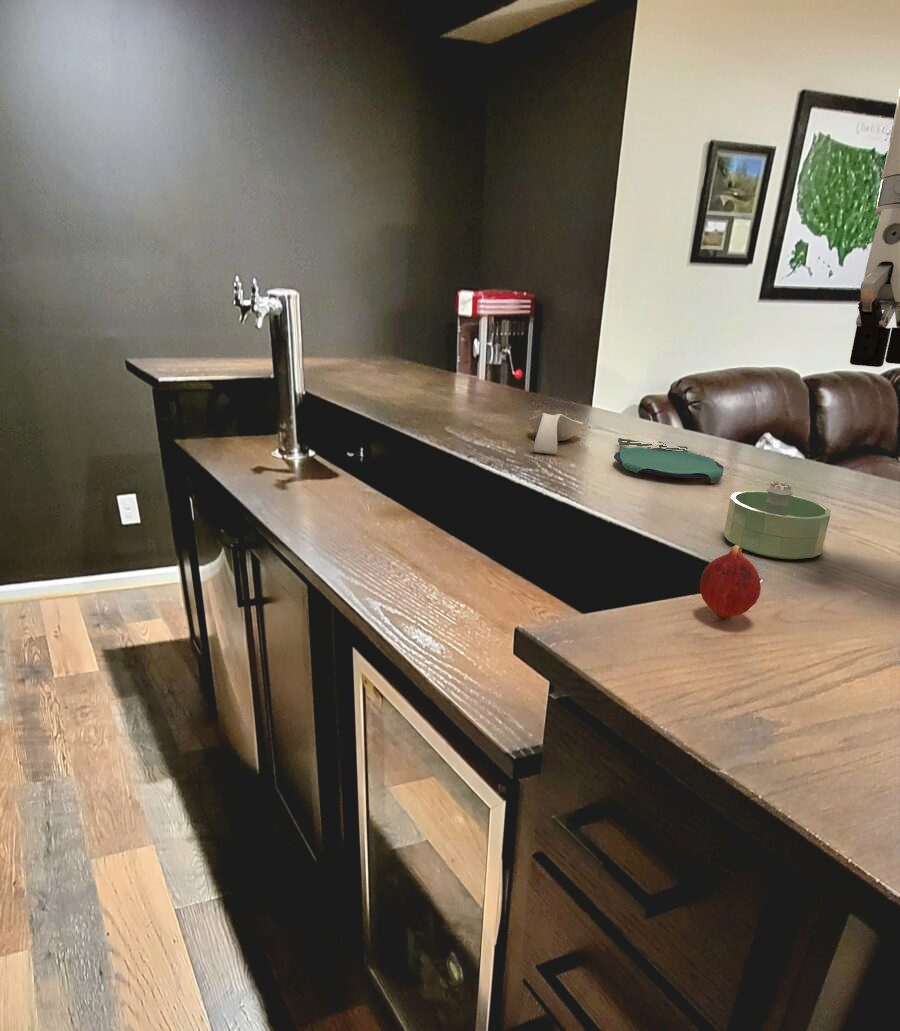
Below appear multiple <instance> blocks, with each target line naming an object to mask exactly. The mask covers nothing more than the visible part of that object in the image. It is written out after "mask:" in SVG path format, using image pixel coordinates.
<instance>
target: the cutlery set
mask: <svg viewBox="0 0 900 1031" xmlns="http://www.w3.org/2000/svg"><path fill="white" fill-rule="evenodd" d="M622 441H627V442H622ZM630 442H640V441H639V440H632V439H629V438H623V437H618V438H617V443H618V445H619V449H618V451H617V452H615V453H614V454H613V459H614V460H615V461H616V462H617V463H618V464H621V465H622V466H623V468H624V469H625V470H627V471H631V472H633V473H636V474H637V473H639V472H641V473H642V472H643V473H647V474H651V475H656V476H663V477H671V478H683V479H685V478H686V479H698V478H699V479H700V478H707V477H708V478H710V479H711V484H712V485H713V484H714V483H716V482H718V481H719V480H720V479H721V478H722V477H723V475H724V470H725V468H724V465H722V464H721V463H719V462H718V461H716V460H715V459H714V458H712V457H709V456H706V455H702V454H698V453H694V452H691V451H687V450H685V449H679V448H666V449H672V450H683V451H672V450H666V449H662V448H661V447H667V446H663V445H658V447H659V448H651V447H642V446H653V445H652V444H641V443H630ZM658 443H663V442H662V441H658ZM664 443H665V442H664ZM664 443H663V444H664ZM666 444H667V443H666ZM666 444H665V445H666ZM629 445H637V446H633V447H625V446H629ZM677 446H678V447H680V448H686V449H689V448H688V446H682V445H677Z"/></svg>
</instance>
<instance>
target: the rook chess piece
mask: <svg viewBox="0 0 900 1031" xmlns="http://www.w3.org/2000/svg"><path fill="white" fill-rule="evenodd" d="M780 483H781V484H779V482H778V481H774V482H773V481H771V482H770V485H769V487H768V488H767V487H766V491H768V493H769V498H768V499H767V500H766V501H767V507H766V510H765V512H767V513H773V514H778V515H784V516H786V508H787V505H789V503H788V498H789V497H790V496H791V495H794V492H793V490H792V484H790V483H787V484H786V482H780Z"/></svg>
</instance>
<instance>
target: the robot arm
mask: <svg viewBox="0 0 900 1031" xmlns="http://www.w3.org/2000/svg"><path fill="white" fill-rule="evenodd" d="M893 117H894V118H893V123H892V127H891V132H890V137H889V143H888V147H887V152H886V156H885V157H886V158H885V162H884V167H883V172H882V178H881V182H880V187H879V192H878V197H877V202H876V208H875V212H874V213H875V215H878V216H879V218H878V221H877V224H876V228H875V231H874V235H873V239H872V243H871V246H870V250H869V254H868V259H867V263H866V266H865V271H864V277H863V281H861V283H860V301H859V302H858V304H857V306H858V307H857V309H858V315H857V317H856V321H855V326H856V328H855V331H854V332H855V333H854V338H853V343H852V347H851V353H850V357H849V364H850V365H852V366H859V367H860V366H861V367H871V368H881V367H883V365H884V363H886V364H895V365H900V90H899V92H898V96H897V102H896V105H895V112H894V116H893ZM894 315H895V323H896V324H895V325H896V327H895V326H893V327H888V325H889V323H890V321H891V319H892V318H893V317H894Z"/></svg>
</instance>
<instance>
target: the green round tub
mask: <svg viewBox="0 0 900 1031" xmlns="http://www.w3.org/2000/svg"><path fill="white" fill-rule="evenodd" d="M768 498H769V493H768V491H767V490H740V491H737V492H733V493H732V494H731V496H730V498H729V503H728V510H727V513H726V520H725V524H724V529H723V536H724V537H725V538H726V540H727V541H728V542H730V543H731V544H734V546H735V545H737V546H739V547H740V548H741V549H742V550H744V551H747V552H748V553H752V554H755V555H759V556H761V557H766V558H771V559H777V560H778V559H780V560H803V559H808V558H809V559H810V558H815V557H817V556H820V555H822V553H823V549H824V543H825V539H826V536H827V532H828V527H829V523H830V518H831V509H830V508H828V507H827V506H825V505H824V504H822V503H819V502H817V501H814V500H813V499H809V498H805V497H801V496H798V495H794V494H792V495H791V496H790V497H789V498H788V503H789V505H787V508H786V516H784V515H778V514H773V513H767V512H765V510H766V507H767V501H766V500H767V499H768Z"/></svg>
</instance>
